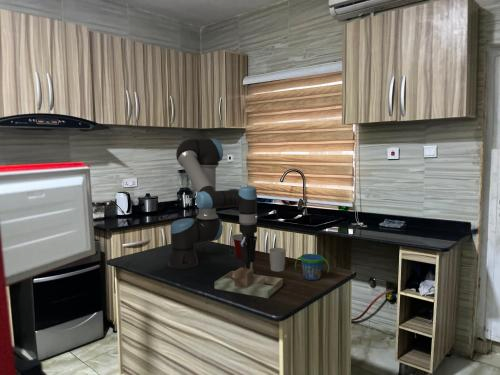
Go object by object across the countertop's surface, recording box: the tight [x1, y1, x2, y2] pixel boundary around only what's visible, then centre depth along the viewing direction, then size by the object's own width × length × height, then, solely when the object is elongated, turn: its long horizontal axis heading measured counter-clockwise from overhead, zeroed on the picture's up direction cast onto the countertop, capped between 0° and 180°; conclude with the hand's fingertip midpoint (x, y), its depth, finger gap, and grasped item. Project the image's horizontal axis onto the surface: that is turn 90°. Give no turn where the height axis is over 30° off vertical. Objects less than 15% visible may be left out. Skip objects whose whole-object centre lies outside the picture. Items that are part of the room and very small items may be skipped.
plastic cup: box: [232, 233, 243, 260], centre depth 208 cm, size 11×11×12 cm
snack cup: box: [294, 253, 330, 281], centre depth 174 cm, size 16×10×10 cm
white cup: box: [268, 247, 286, 273], centre depth 187 cm, size 8×8×10 cm
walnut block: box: [233, 267, 254, 288], centre depth 159 cm, size 6×6×6 cm
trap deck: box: [214, 270, 284, 299], centre depth 164 cm, size 25×16×3 cm, turn 64°
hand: (249, 276), depth 164 cm, fingers closed
